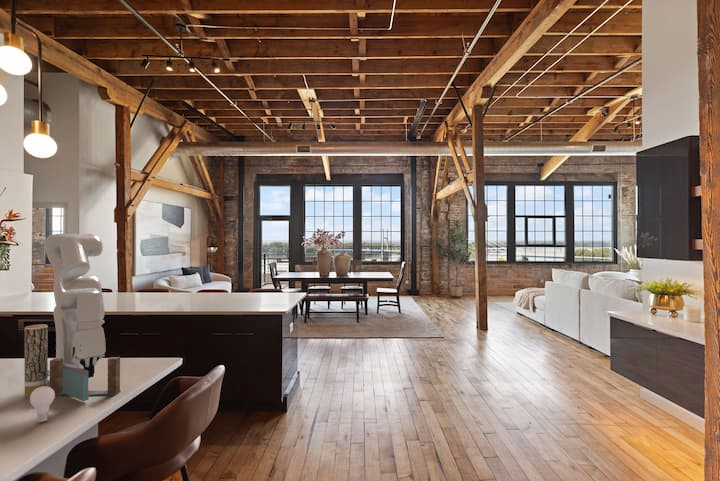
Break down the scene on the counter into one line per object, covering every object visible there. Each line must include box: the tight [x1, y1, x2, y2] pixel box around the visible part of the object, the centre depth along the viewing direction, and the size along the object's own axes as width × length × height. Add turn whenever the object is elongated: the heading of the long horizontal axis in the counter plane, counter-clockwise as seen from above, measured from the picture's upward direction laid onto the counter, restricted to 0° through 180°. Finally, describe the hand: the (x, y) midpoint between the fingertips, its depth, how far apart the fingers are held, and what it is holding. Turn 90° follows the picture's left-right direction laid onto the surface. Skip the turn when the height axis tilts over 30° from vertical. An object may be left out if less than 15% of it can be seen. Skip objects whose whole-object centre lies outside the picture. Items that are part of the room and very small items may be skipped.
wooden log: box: [23, 323, 49, 399], centre depth 162 cm, size 7×7×25 cm
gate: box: [62, 364, 89, 402], centre depth 158 cm, size 16×2×10 cm, turn 57°
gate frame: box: [49, 356, 122, 398], centre depth 163 cm, size 23×4×13 cm, turn 96°
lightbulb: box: [29, 386, 56, 424], centre depth 138 cm, size 6×6×11 cm
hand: (88, 376), depth 159 cm, fingers closed
